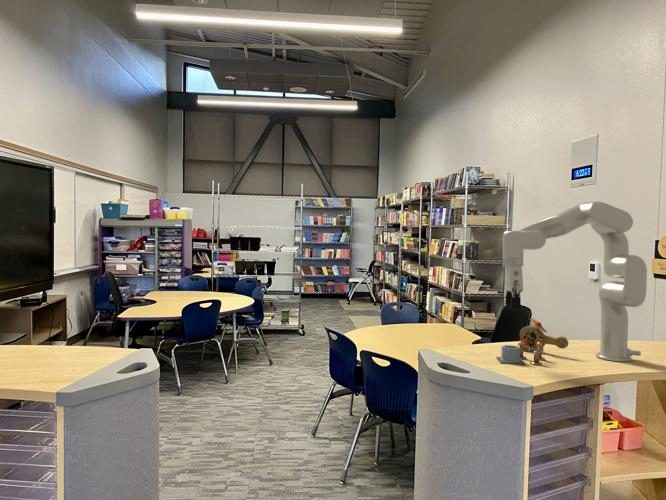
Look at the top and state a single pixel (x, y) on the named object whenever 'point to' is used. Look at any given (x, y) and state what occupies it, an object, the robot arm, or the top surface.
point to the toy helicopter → (539, 337)
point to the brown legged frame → (536, 352)
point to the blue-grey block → (510, 353)
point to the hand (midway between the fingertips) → (512, 306)
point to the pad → (510, 362)
